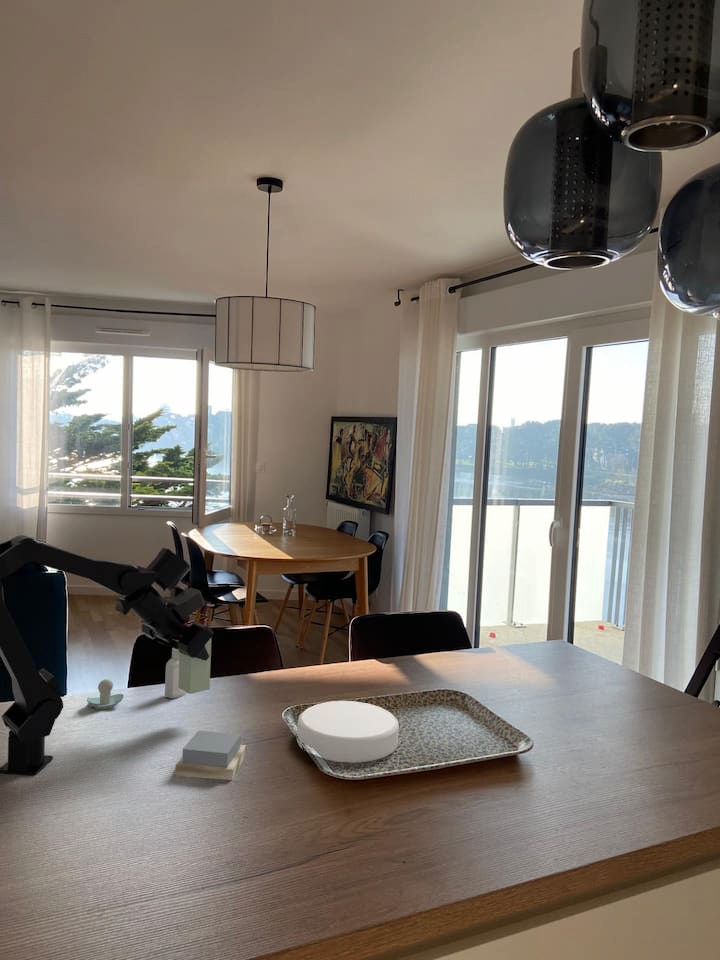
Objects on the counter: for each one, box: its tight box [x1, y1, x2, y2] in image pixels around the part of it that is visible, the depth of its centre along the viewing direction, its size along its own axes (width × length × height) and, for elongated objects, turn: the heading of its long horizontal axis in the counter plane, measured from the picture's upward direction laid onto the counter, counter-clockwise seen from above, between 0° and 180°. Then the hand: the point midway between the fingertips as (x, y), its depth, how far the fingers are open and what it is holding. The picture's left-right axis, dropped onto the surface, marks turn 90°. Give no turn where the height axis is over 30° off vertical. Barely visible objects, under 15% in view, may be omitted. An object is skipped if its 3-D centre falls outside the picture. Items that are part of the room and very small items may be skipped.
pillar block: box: [178, 637, 212, 695], centre depth 146 cm, size 4×4×12 cm
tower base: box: [174, 744, 247, 781], centre depth 128 cm, size 10×10×2 cm
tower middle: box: [182, 730, 242, 768], centre depth 128 cm, size 8×8×2 cm
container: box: [296, 700, 400, 763], centre depth 142 cm, size 20×20×5 cm
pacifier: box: [86, 678, 124, 710], centre depth 153 cm, size 7×6×6 cm
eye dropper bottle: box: [164, 647, 188, 699], centre depth 161 cm, size 4×6×12 cm
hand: (201, 655), depth 147 cm, fingers closed on pillar block, 4 cm apart
